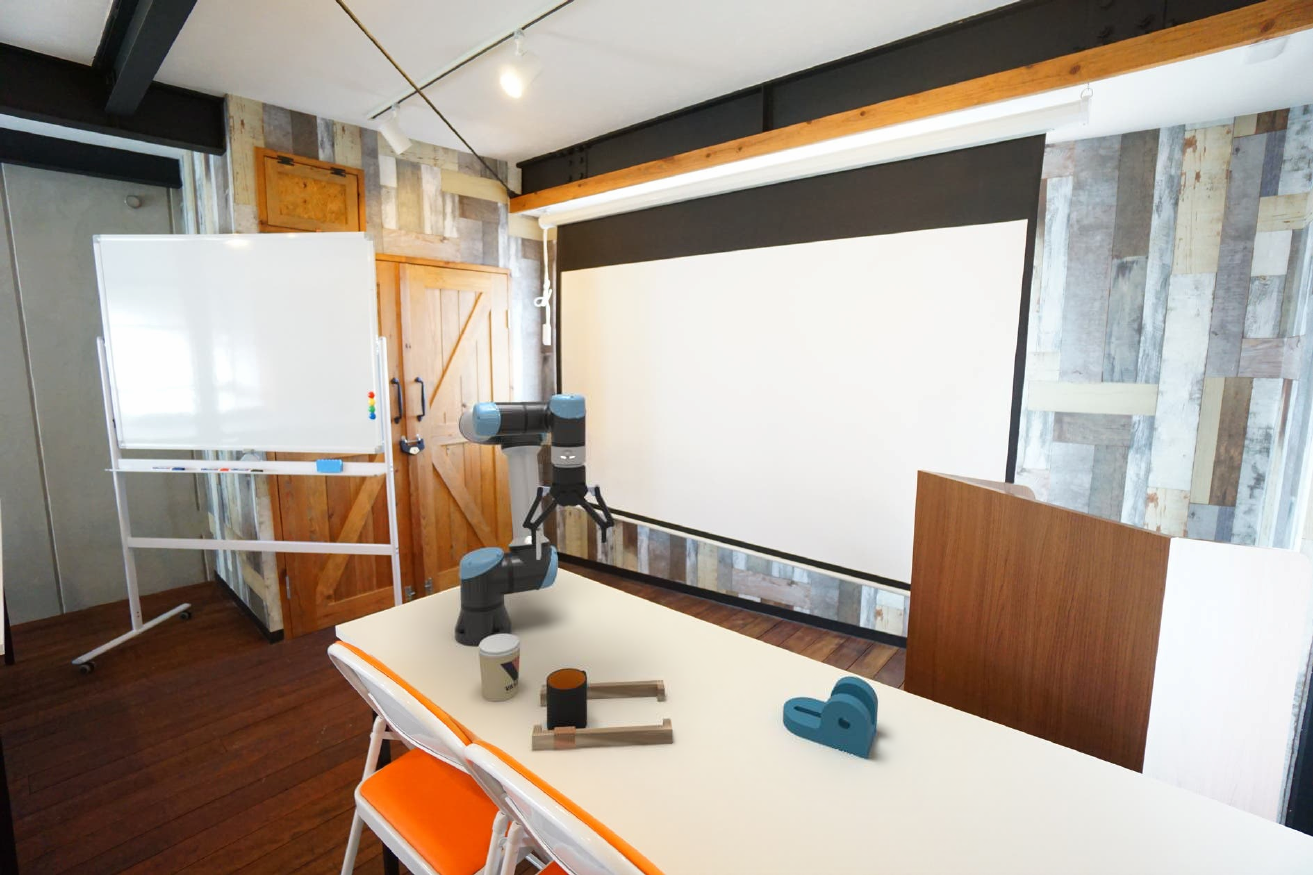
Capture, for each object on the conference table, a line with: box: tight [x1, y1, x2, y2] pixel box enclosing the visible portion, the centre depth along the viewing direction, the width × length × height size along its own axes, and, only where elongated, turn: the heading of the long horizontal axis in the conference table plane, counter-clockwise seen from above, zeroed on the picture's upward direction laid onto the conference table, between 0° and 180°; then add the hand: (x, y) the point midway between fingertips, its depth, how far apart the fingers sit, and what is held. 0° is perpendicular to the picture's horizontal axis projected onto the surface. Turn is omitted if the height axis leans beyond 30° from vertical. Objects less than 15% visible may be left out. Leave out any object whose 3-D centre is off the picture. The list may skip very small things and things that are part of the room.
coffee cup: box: [477, 633, 522, 702], centre depth 130 cm, size 9×9×12 cm
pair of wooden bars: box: [531, 679, 673, 751], centre depth 121 cm, size 18×28×3 cm
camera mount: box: [782, 675, 879, 760], centre depth 118 cm, size 18×10×10 cm, turn 59°
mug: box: [545, 667, 588, 730], centre depth 120 cm, size 8×12×10 cm
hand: (569, 557), depth 128 cm, fingers open, 13 cm apart
